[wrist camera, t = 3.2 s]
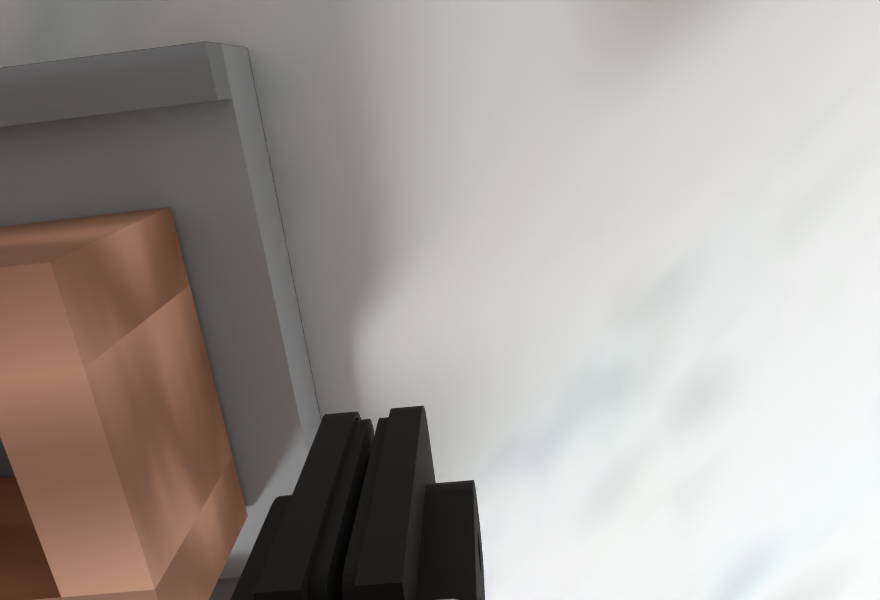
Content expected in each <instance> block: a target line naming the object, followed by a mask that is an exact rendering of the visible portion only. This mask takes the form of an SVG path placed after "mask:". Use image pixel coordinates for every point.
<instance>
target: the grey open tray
mask: <svg viewBox="0 0 880 600" xmlns="http://www.w3.org/2000/svg"><path fill="white" fill-rule="evenodd" d="M166 207H170V208H171V212H172V216H173V220H174V224H175V228H176V232H177V236H178V240H179V244H180V248H181V252H182V256H183V260H184V264H185V268H186V272H187V276H188V280H189V284H190V288H191V292H192V296H193V300H194V304H195V308H196V312H197V316H198V320H199V324H200V328H201V331H202V335H203V339H204V343H205V347H206V351H207V355H208V359H209V363H210V367H211V371H212V375H213V379H214V383H215V387H216V391H217V395H218V399H219V403H220V407H221V411H222V415H223V419H224V423H225V427H226V431H227V435H228V439H229V443H230V447H231V451H232V454H233V458H234V462H235V466H236V470H237V474H238V478H239V482H240V486H241V490H242V494H243V498H244V502H245V506H246V510H247V514H248V517H247V519H246V521H245V523H244V525H243V527H242V529H241V532H240V534H239V536H238V538H237V540H236V542H235V545H234V547H233V549H232V551H231V553H230V555H229V557H228V560H227V562H226V564H225V566H224V568H223V570H222V572H221V575H220V577H219V579H218V581H217V583H216V585H215V587H214V590H213V592H212V594H211V596H210V598H209V600H230V599H231V597H232V595H233V592H234V590H235V588H236V585H237V583H238V581H239V579H240V576H241V574H242V572H243V569H244V567H245V565H246V562H247V560H248V558H249V555H250V553H251V551H252V549H253V546H254V544H255V542H256V539H257V537H258V535H259V532H260V530H261V528H262V525H263V523H264V521H265V519H266V516H267V514H268V512H269V509H270V507H271V505H272V503H273V501H274V500H275V498H277V497H278V496H285V495H292V494H293V491H294V489H295V486H296V484H297V481H298V479H299V476H300V474H301V471H302V469H303V466H304V463H305V461H306V458H307V456H308V453H309V451H310V448H311V446H312V443H313V441H314V438H315V436H316V433H317V431H318V428H319V426H320V423H321V418H320V413H319V408H318V403H317V398H316V393H315V388H314V383H313V378H312V373H311V368H310V363H309V358H308V353H307V348H306V343H305V338H304V333H303V328H302V323H301V317H300V312H299V307H298V302H297V297H296V292H295V287H294V282H293V277H292V272H291V267H290V262H289V257H288V252H287V247H286V242H285V237H284V232H283V227H282V222H281V216H280V211H279V206H278V201H277V196H276V191H275V186H274V181H273V176H272V171H271V166H270V161H269V156H268V151H267V146H266V141H265V136H264V131H263V126H262V121H261V115H260V110H259V105H258V100H257V95H256V90H255V85H254V80H253V75H252V70H251V65H250V60H249V55H248V50H247V48H246V47H240V46H233V45H226V44H219V43H212V42H197V43H190V44H182V45H174V46H166V47H159V48H151V49H143V50H135V51H128V52H120V53H112V54H104V55H97V56H89V57H81V58H73V59H66V60H58V61H50V62H42V63H35V64H27V65H19V66H12V67H4V68H0V227H1V226H10V225H19V224H27V223H36V222H45V221H53V220H62V219H71V218H79V217H88V216H97V215H105V214H114V213H123V212H131V211H140V210H149V209H157V208H166ZM9 476H15V474H14V472H13V469H12V466H11V464H10V461H9V458H8V456H7V453H6V450H5V448H4V445H3V443H2V440H1V437H0V477H9Z"/></svg>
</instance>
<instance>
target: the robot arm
mask: <svg viewBox="0 0 880 600" xmlns="http://www.w3.org/2000/svg"><path fill="white" fill-rule="evenodd" d="M230 600H485V590H484V569H483V555H482V543H481V532H480V522H479V514H478V505H477V497H476V489H475V483H474V480H470V481H458V482H446V483H435V475H434V468H433V461H432V454H431V447H430V440H429V433H428V426H427V419H426V413H425V408H424V406H415V407H403V408H392V409H391V410H390V414H389V417H387V418H379V420H378V424H377V428H376V432H375V436H374V430H373V425H372V422H371V420H370V419H365V420H361V418H360V415H359V413H358V412H347V413H336V414H326V415H324V416H323V418H322V421H321V423H320V426H319V428H318V431H317V433H316V436H315V438H314V441H313V443H312V446H311V448H310V451H309V453H308V456H307V458H306V461H305V463H304V466H303V469H302V471H301V474H300V476H299V479H298V481H297V484H296V486H295V489H294V491H293V494H292V495H285V496H278V497H277V498H275V500H274V501H273V503H272V505H271V507H270V509H269V512H268V514H267V516H266V519H265V521H264V523H263V525H262V528H261V530H260V532H259V535H258V537H257V539H256V542H255V544H254V546H253V549H252V551H251V553H250V555H249V558H248V560H247V562H246V565H245V567H244V569H243V572H242V574H241V576H240V579H239V581H238V583H237V585H236V588H235V590H234V592H233V595H232V597H231V599H230Z"/></svg>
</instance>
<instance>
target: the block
mask: <svg viewBox="0 0 880 600" xmlns="http://www.w3.org/2000/svg"><path fill="white" fill-rule="evenodd" d="M0 437H1V440H2V443H3V445H4V448H5V450H6V453H7V456H8V458H9V461H10V464H11V466H12V469H13V472H14V474H15V476H9V477H0V600H209V598H210V596H211V594H212V592H213V590H214V587H215V585H216V583H217V581H218V579H219V577H220V575H221V572H222V570H223V568H224V566H225V564H226V562H227V560H228V557H229V555H230V553H231V551H232V549H233V547H234V545H235V542H236V540H237V538H238V536H239V534H240V532H241V529H242V527H243V525H244V523H245V521H246V519H247V517H248V514H247V510H246V506H245V502H244V498H243V494H242V490H241V486H240V482H239V478H238V474H237V470H236V466H235V462H234V458H233V454H232V451H231V447H230V443H229V439H228V435H227V431H226V427H225V423H224V419H223V415H222V411H221V407H220V403H219V399H218V395H217V391H216V387H215V383H214V379H213V375H212V371H211V367H210V363H209V359H208V355H207V351H206V347H205V343H204V339H203V335H202V331H201V328H200V324H199V320H198V316H197V312H196V308H195V304H194V300H193V296H192V292H191V288H190V284H189V280H188V276H187V272H186V268H185V264H184V260H183V256H182V252H181V248H180V244H179V240H178V236H177V232H176V228H175V224H174V220H173V216H172V212H171V208H170V207H166V208H157V209H149V210H140V211H131V212H123V213H114V214H105V215H97V216H88V217H79V218H71V219H62V220H53V221H45V222H36V223H27V224H19V225H10V226H1V227H0Z"/></svg>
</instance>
